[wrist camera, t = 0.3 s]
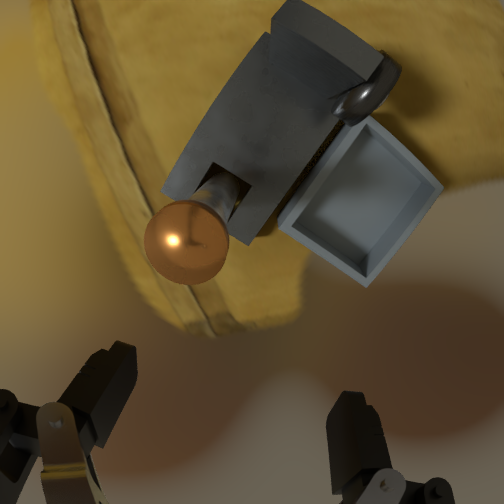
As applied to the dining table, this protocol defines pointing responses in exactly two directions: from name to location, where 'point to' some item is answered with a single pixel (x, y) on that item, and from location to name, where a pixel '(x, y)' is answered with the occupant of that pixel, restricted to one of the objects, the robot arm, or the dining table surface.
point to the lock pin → (193, 232)
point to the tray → (360, 200)
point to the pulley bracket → (283, 110)
